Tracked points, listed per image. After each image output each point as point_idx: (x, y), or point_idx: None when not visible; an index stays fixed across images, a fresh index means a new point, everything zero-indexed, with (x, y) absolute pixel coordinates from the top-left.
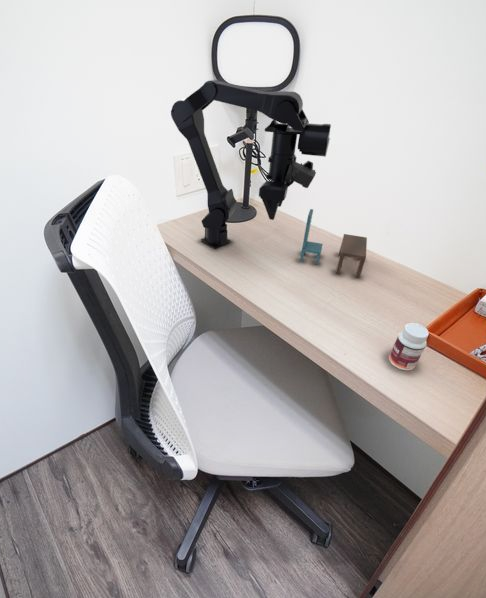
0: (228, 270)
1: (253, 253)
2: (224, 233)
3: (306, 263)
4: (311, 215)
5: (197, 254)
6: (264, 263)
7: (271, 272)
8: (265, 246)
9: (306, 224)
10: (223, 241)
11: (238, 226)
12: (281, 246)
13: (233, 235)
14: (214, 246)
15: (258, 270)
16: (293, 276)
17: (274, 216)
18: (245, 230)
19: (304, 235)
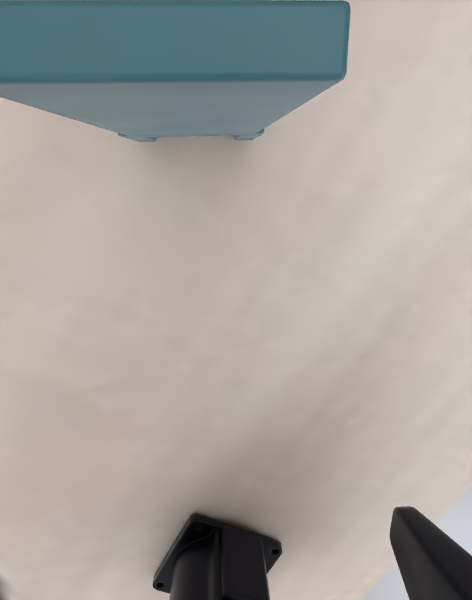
0: (440, 441)
1: (256, 394)
2: (248, 588)
3: None
4: (274, 4)
5: (346, 573)
6: (337, 321)
7: (415, 267)
8: (156, 362)
9: (298, 106)
10: (249, 547)
11: (7, 533)
12: (113, 283)
13: (116, 521)
14: (271, 551)
15: (411, 329)
16: (429, 143)
17: (453, 541)
18: (31, 494)
19: (272, 122)
